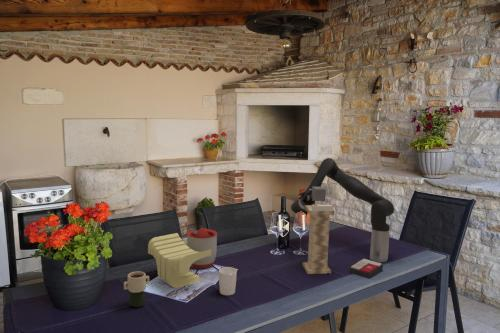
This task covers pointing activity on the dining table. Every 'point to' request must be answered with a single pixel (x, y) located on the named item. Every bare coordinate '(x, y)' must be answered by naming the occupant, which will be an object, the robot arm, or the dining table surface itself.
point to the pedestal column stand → (318, 241)
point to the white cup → (227, 280)
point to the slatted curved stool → (175, 259)
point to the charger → (318, 193)
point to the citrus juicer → (203, 246)
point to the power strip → (322, 207)
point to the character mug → (136, 288)
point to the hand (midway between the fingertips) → (314, 191)
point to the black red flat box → (366, 268)
